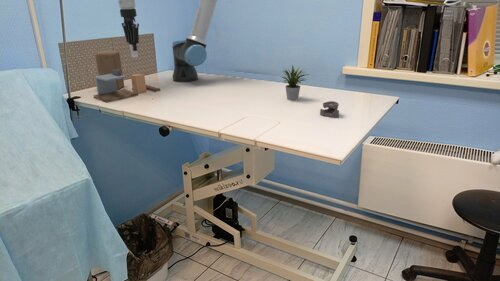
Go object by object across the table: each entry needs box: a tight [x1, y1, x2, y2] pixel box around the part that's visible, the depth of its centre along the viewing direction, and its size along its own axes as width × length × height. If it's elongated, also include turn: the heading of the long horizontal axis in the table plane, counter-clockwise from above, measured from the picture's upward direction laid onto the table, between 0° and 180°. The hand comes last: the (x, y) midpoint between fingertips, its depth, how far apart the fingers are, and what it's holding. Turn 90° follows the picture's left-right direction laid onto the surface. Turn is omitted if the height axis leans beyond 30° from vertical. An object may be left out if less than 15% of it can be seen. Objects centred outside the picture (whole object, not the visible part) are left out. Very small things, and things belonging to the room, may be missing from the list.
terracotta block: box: [130, 73, 147, 94], centre depth 191 cm, size 5×5×9 cm
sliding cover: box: [94, 69, 126, 95], centre depth 180 cm, size 10×12×12 cm
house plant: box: [281, 64, 310, 101], centre depth 169 cm, size 14×14×16 cm
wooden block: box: [94, 50, 125, 90], centre depth 197 cm, size 10×10×20 cm
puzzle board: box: [93, 84, 161, 103], centre depth 188 cm, size 30×14×1 cm, turn 136°
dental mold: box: [319, 100, 340, 119], centre depth 149 cm, size 8×7×5 cm
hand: (134, 57), depth 186 cm, fingers closed
